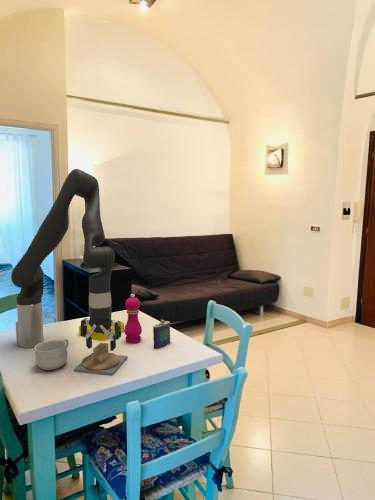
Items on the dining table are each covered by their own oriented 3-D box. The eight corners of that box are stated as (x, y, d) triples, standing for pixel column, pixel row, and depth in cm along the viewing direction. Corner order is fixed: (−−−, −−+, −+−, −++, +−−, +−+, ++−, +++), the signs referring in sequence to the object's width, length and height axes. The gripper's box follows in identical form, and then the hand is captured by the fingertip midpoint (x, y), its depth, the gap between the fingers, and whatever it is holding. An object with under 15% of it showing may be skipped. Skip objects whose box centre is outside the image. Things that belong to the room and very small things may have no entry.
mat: (73, 371, 127) (73, 368, 126) (92, 355, 140) (92, 352, 140) (112, 375, 124) (112, 372, 124) (127, 358, 137) (127, 355, 137)
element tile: (100, 326, 174) (100, 316, 173) (126, 331, 167) (126, 321, 166) (76, 336, 161) (76, 325, 160) (103, 342, 154) (103, 331, 153)
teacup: (48, 376, 123) (47, 353, 122) (28, 368, 129) (27, 346, 128) (81, 361, 135) (80, 339, 134) (61, 354, 141) (60, 334, 140)
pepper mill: (121, 342, 153) (120, 295, 150) (130, 336, 159) (129, 291, 157) (136, 345, 150) (135, 296, 147) (145, 339, 157) (144, 292, 154)
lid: (75, 368, 126) (74, 351, 126) (92, 353, 139) (91, 338, 138) (111, 372, 124) (110, 355, 123) (125, 356, 137) (124, 340, 136)
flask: (166, 341, 155) (166, 316, 153) (172, 342, 153) (172, 317, 151) (151, 348, 147) (151, 322, 146) (157, 350, 146) (157, 323, 144)
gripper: (75, 305, 127) (77, 351, 129) (115, 308, 124) (116, 355, 126) (86, 300, 134) (87, 343, 136) (123, 302, 131) (124, 346, 133)
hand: (101, 349), depth 131 cm, fingers open, 8 cm apart
